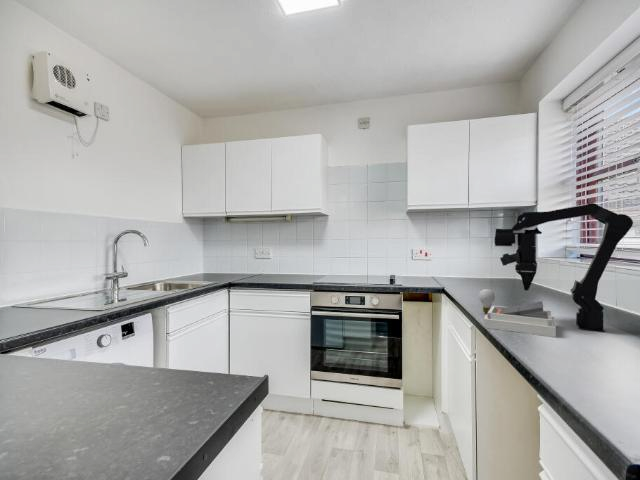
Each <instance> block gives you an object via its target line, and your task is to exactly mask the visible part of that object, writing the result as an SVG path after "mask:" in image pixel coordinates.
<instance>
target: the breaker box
mask: <svg viewBox="0 0 640 480" xmlns="http://www.w3.org/2000/svg"><path fill="white" fill-rule="evenodd" d="M505 307H506V306H503V305H502V306H501V305H491V307H490V310H489V311H488V313H487V314H485V316H484V318H483V328H487V329H492V330H494V329H495V330H501V331H507V332H508V331H509V332H516V333H520V334H522V333H523V334H530V335H537V336H544V337H550V338H557V337H556V336H557V335H556V333H557V332H556V331H557V329H556V328H557V326H556V322H555V317H554V316H552V312H551V311H550V310H543V311H541V312H535V313H528V314H522V315H507V314H498V313H496V312H497V310H498V309H499V308H505Z"/></svg>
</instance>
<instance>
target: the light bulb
mask: <svg viewBox="0 0 640 480" xmlns="http://www.w3.org/2000/svg"><path fill="white" fill-rule="evenodd" d="M495 298H496V295H495V292H493V290H490V289H488V288H484V289H481V290H480V291H479V293H478V299H479V301H480V303H481V306H482V310H483V311H482V312H484V313H485V315H487V313H488V311H489V310H490V308H491V307H492V306H493V305H492V304H493V302H494V301H495Z"/></svg>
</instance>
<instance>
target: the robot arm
mask: <svg viewBox="0 0 640 480" xmlns="http://www.w3.org/2000/svg"><path fill="white" fill-rule="evenodd" d="M585 216H588V217H590V218H592V219H594V220H596V221H598V222H600V223H602V225H603V224H604V227H603V231H602V232H603V233H602V239H601V241H600V244H599V246H598V248H597V249H596V252H595V254H594V256H593V258H592V261H591V262H590V264H589V266H588V268H587V270H586V273H585V274H584V276H583V277H582V279H581V280H580V281H578V280H574V284H573V286H572V288H571V289H569V290H570V293H571V298H572V300H573V302H574V303H575V304H576V305H578V306H579V307H577V308H578V309H577V311H576V313H575V325H576V326H577V328H578V329H579V330H587V331H595V332H596V331H597V332H605V329H604V309H605V307H604V306H603V305H602V304H601V302H599V301H598V300H597V299H596V297H597V292H598V288H599V287H598V286H599V282H600V280H601V277H602V275H603V273H604V272H605V269H606V268H607V265H608V264H609V261H610V260H611V258H612V256H613V253H614V251H615V249H616V248H617V246H618V244H619V243H620V242H621V240H622V239H623V238H624V237H625V236H626V235H627V234H628V232H629V231H630V230H631V229H632V227H633V225H634V220H633V219H632V217H630V216H629V215H627V214H624V213H619V214H618V213H615V212H614V211H612V210H610V209H606V208H605V207H602V206H600V205H599V204H597V203H594V202H589V203H586V204H583V205H582V204H581V205H577V206H571V207H566V208H559V209H555V210H548V211H527V212H526V211H525V212H522V213H520V214H519V215H518V216H517V218H516V223H515V224H514V225H512V228H495V232H494V233H495V235H494V246H495V247H513V245H514V244H516V242H517V249H516V251H515V253H511V254H510V253H504V254H502V256H501V257H500V258H499V259H500V262H501V264H502V266H503V267H504V266H507V265H509V264H510V265H511V264H513V263H516V264H515V268H514V269H515V272H516V273H517V274H518V275H520V277H521V281H522V285H523V289H524V291H529V290H530V288H531V285H532V283H533V281H534V278H535V277H536V274H537V270H538V261H537V235H542V233H543V232H542V231H541V230H539V228H538V227H537V226H539V225H543V224H547V223H550V222H555V221H561V220H567V219H569V220H570V219H574V218H579V217H585ZM534 227H535V228H534ZM530 228H534V229H530ZM523 229H524V232H520V231H522V230H523ZM516 236H517V237H516ZM516 240H517V241H516Z"/></svg>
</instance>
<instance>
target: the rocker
mask: <svg viewBox="0 0 640 480" xmlns="http://www.w3.org/2000/svg"><path fill="white" fill-rule="evenodd" d="M504 307H505V308H499V309H498V310H497V312H496V313H498V314H507V315H522V314H528V313H535V312H541V311H544V304H543V301H542V300H541V301H536V302H530V303H524V304H518V305H512V306H504Z"/></svg>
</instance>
